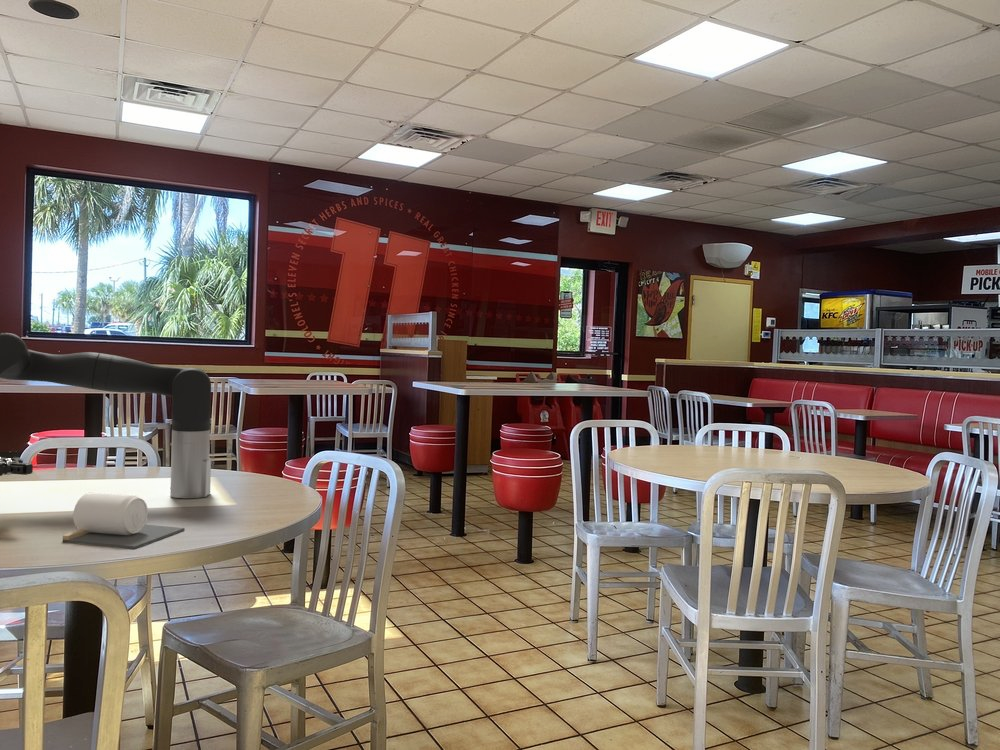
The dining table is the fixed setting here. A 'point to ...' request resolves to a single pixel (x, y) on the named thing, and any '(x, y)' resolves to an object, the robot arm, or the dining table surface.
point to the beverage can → (110, 513)
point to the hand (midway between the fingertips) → (29, 469)
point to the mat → (123, 537)
